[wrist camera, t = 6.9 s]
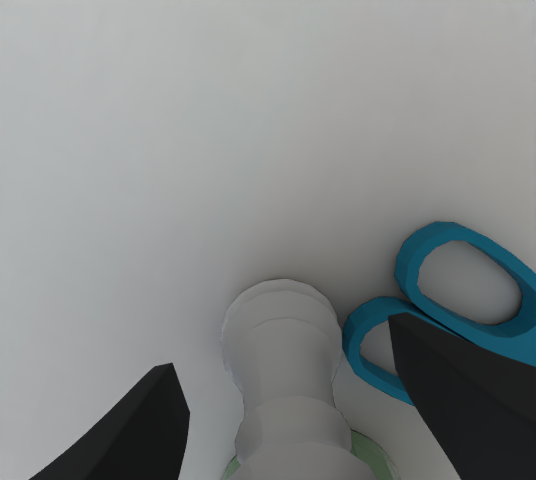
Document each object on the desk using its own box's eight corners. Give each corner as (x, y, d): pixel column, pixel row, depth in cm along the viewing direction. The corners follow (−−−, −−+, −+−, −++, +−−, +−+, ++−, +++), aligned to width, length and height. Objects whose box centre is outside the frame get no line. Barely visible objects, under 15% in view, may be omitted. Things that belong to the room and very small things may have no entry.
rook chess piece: (198, 320, 14) (120, 557, 6) (289, 250, 13) (335, 413, 5) (271, 395, 15) (286, 678, 7) (359, 333, 14) (484, 571, 6)
